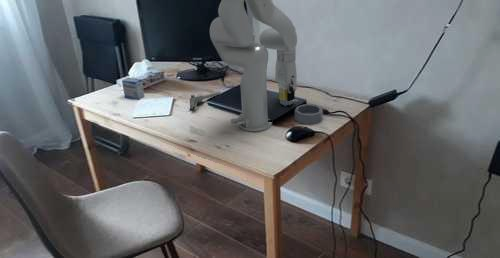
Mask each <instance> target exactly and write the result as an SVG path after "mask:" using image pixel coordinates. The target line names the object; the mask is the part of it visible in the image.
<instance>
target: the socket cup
mask: <svg viewBox="0 0 500 258" xmlns="http://www.w3.org/2000/svg"><path fill="white" fill-rule="evenodd" d="M323 111H324V109H323V108H322V107H321V106H319V105H317V104H310V103H309V104H308V103H305V104H301V105H297V106H296V108H295V109H294V119H295V121H296V122H297V123H299V124H302V125H315V124H316V125H317V124H318V123H321V122H322V121H323V115H324V112H323Z"/></svg>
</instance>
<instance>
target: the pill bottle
mask: <svg viewBox="0 0 500 258" xmlns="http://www.w3.org/2000/svg"><path fill="white" fill-rule="evenodd" d="M290 85H292V83H290ZM291 88H292V86H290V89H291ZM287 93H288V89H287V87H285V86H284V85H282V84H280V85H279V86H278V99H280V100H287Z"/></svg>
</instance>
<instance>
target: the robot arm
mask: <svg viewBox="0 0 500 258" xmlns="http://www.w3.org/2000/svg"><path fill="white" fill-rule="evenodd" d="M245 3H246V5H247V8H248V10H249V12H250V15H251V16H252V18H254V19H255V20H257V21H258V22H260V23H262V24H264V25H266V26H269V27H270V28H269V27H268V28H266V29H264V30H262V31H261V32H260V35H259V38H258V39H259V43H257V42H255V38H256V35H255V34H256V33H255V30H254V27H253V25H252V23H251V20H250V18H249V16H248V13H247V11H246V9H245ZM217 11H218V16H217V17H216V18H214V19H213V20H212V22H211V24H210V27H209V37H210V40H211V42H212V44H213V46H214V48H215V50H216V52H217V53H218V55H219V57H220V59H221V61H222V62H223V63H224V64H225V65H226V66H228V67H234V68H239V69H243V70H244V73H243V74H242V76H241V78H240V81H239V84H240V85H239V86H240V97H241V98H240V100H241V113H239V116H238V117H236V118H232V119H230V125H236V126H239V128H240V129H242V130H243V131H246V132H261V131H262V132H263V131H265V130H267V129H269V128H270V127H272V126H273V121H272V122H268V117H269V115H268V93H267V91H268V90H267V89H268V87H267V69H268V61H269V50H276V60H275V61H276V62H275V81H276V82H277V83H278V84H277V85H278V87H279V85H280V84H282V85H284V86H285V87H287V89H288V93H287V101H290V100H293V99H295V97H296V96H295V93H296V90H297V89H298V84H297V82H298V81H297V80H298V79H297V66H296V65H297V64H296V59H297V58H296V55H297V53H296V49H297V44H298V35H297V32H296V27H295V26H294V23H293V21H292V20H291V19H290V17H288V15H286V14H285V12H283V11H282V10H281V9H280V8H279V7H277V6H276V5H275V4H274V2H273V0H221V1H220V3H219V5H218V9H217ZM290 83H292V85H290ZM290 86H292V88H291V89H290ZM295 100H296V99H295Z"/></svg>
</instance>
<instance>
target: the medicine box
mask: <svg viewBox="0 0 500 258" xmlns="http://www.w3.org/2000/svg"><path fill="white" fill-rule="evenodd" d="M121 84H122V88H123V94H124V98H125V99H128V100H137V101H140V100H141V99H143V98H144V97H145V91H144V85H143V79H142V78H133V77H127V78H124V79H122V80H121Z"/></svg>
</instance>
